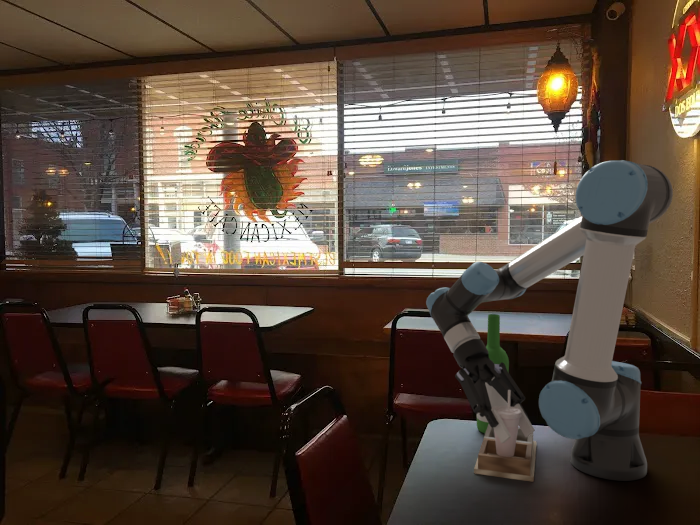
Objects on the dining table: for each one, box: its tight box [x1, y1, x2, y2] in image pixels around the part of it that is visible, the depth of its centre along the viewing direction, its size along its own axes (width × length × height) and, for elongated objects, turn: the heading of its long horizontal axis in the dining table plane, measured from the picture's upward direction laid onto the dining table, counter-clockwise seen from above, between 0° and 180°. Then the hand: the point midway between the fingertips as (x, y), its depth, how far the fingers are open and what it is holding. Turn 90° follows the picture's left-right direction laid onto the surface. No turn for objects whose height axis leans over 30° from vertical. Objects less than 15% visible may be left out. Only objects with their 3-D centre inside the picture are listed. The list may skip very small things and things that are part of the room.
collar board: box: [473, 424, 537, 483], centre depth 128 cm, size 12×21×4 cm, turn 160°
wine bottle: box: [476, 313, 510, 435], centre depth 145 cm, size 8×8×30 cm
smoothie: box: [491, 390, 521, 457], centre depth 123 cm, size 6×6×14 cm
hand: (518, 436), depth 120 cm, fingers closed on smoothie, 6 cm apart
